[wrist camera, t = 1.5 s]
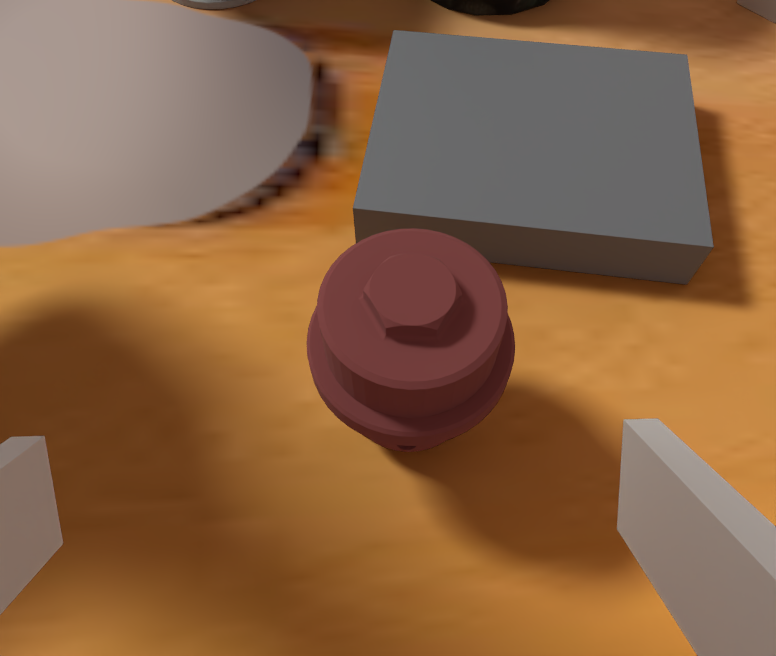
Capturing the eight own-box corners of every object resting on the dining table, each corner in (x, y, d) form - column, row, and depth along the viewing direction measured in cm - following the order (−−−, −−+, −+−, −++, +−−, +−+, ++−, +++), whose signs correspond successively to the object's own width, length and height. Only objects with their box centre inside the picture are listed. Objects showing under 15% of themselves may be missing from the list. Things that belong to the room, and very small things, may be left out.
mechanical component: (314, 484, 35) (331, 328, 40) (495, 491, 35) (489, 333, 40) (279, 392, 24) (307, 195, 29) (540, 401, 24) (524, 201, 29)
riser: (356, 247, 43) (353, 208, 40) (393, 74, 52) (393, 30, 49) (687, 284, 41) (713, 247, 38) (667, 98, 50) (687, 54, 47)
